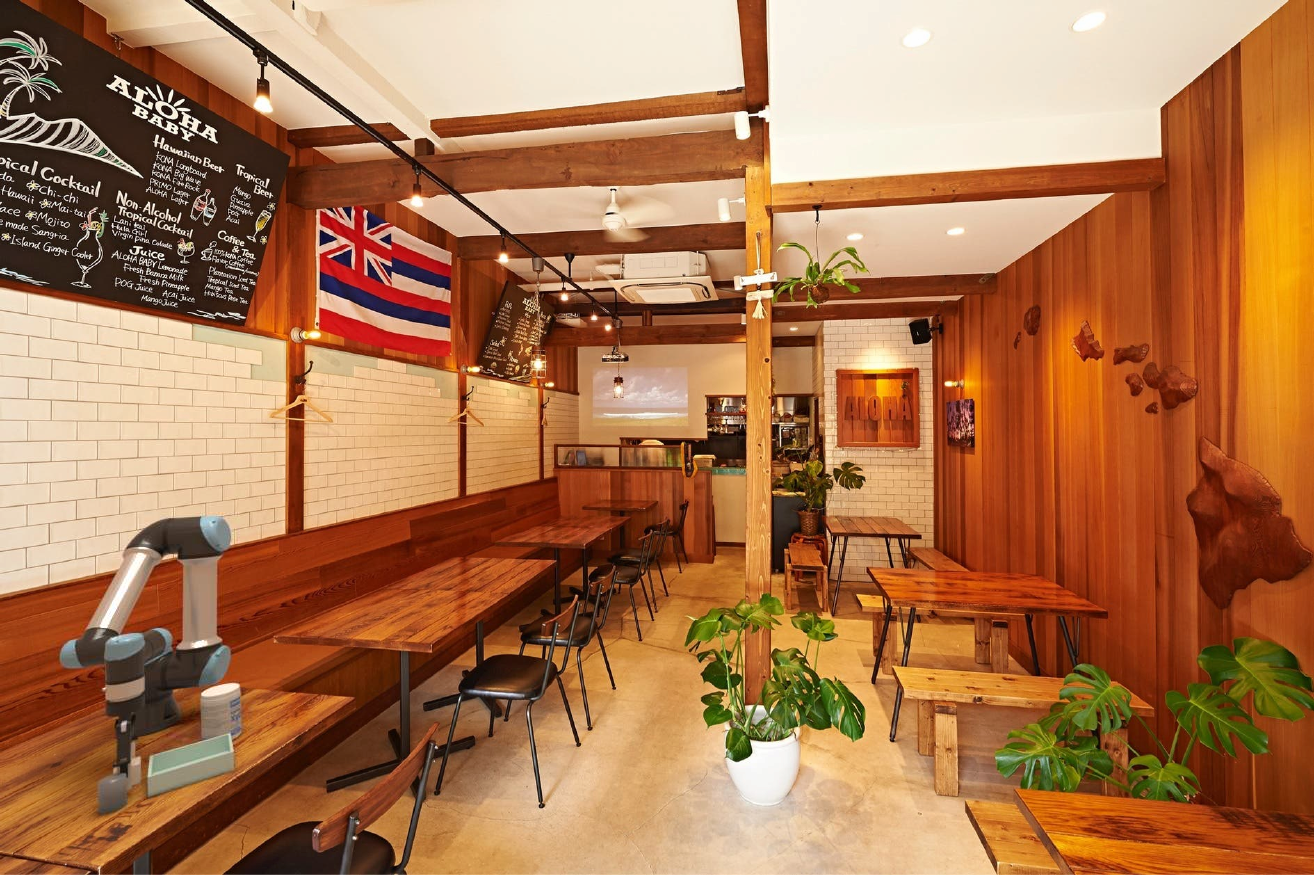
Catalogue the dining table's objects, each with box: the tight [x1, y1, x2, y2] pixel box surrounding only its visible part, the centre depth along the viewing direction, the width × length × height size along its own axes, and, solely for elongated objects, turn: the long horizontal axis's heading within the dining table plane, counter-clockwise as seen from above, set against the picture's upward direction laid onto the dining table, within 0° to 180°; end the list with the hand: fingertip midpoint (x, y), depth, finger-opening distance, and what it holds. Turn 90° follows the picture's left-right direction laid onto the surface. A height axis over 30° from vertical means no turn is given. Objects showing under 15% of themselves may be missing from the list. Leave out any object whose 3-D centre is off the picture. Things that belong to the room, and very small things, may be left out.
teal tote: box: [147, 733, 235, 798], centre depth 152 cm, size 13×17×5 cm
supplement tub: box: [200, 682, 243, 741], centre depth 169 cm, size 10×10×15 cm
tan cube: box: [112, 756, 142, 786], centre depth 148 cm, size 5×5×5 cm
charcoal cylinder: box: [97, 773, 128, 816], centre depth 138 cm, size 5×5×7 cm
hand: (126, 778), depth 148 cm, fingers open, 13 cm apart
